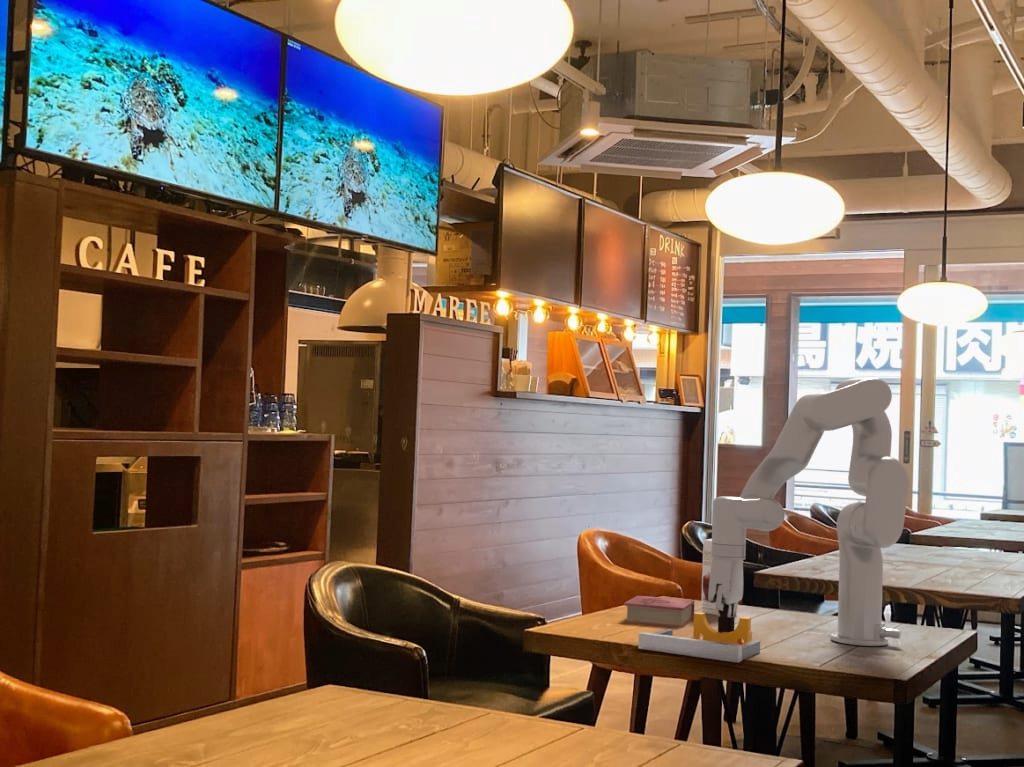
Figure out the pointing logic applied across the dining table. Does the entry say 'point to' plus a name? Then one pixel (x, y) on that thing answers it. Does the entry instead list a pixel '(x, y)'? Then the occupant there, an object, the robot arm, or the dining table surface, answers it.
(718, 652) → the bracket
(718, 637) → the pipe clamp
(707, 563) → the juice carton
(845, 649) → the dining table surface
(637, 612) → the book
